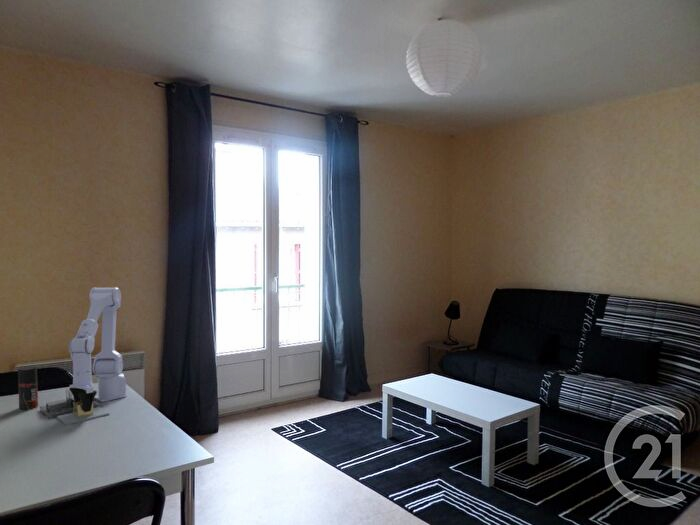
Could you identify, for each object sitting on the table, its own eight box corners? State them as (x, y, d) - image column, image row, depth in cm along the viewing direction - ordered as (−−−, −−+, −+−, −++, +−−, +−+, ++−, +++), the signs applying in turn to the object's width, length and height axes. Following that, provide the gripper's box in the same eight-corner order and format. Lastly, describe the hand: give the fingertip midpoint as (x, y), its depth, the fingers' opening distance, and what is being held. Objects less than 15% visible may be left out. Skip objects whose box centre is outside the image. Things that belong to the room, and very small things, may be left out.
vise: (87, 400, 191) (86, 381, 191) (98, 407, 183) (97, 387, 183) (40, 410, 180) (39, 390, 180) (49, 418, 172) (49, 397, 171)
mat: (99, 408, 182) (99, 406, 182) (109, 414, 176) (109, 412, 175) (57, 418, 172) (57, 416, 172) (66, 425, 165) (66, 423, 165)
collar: (88, 411, 177) (88, 398, 177) (93, 414, 174) (93, 402, 174) (73, 414, 174) (72, 402, 174) (77, 418, 170) (77, 405, 170)
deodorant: (31, 410, 180) (29, 370, 180) (15, 410, 180) (13, 370, 180) (41, 405, 186) (40, 366, 186) (26, 405, 186) (25, 366, 186)
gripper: (63, 369, 175) (64, 406, 176) (76, 377, 165) (78, 416, 166) (84, 365, 180) (85, 402, 181) (99, 372, 170) (100, 411, 171)
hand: (83, 408), depth 174 cm, fingers open, 7 cm apart
